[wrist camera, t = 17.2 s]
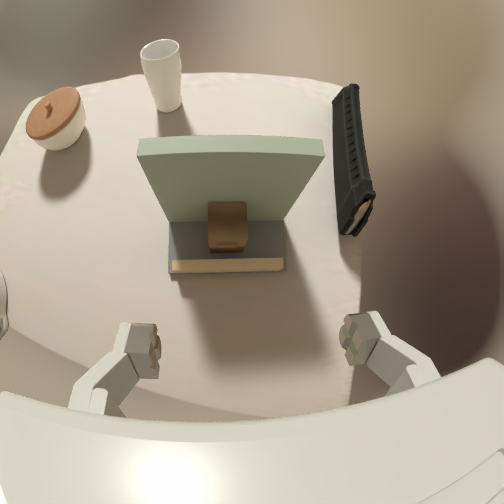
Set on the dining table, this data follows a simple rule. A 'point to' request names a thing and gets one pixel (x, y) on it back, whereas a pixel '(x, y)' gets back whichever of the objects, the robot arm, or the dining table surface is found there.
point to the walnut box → (227, 227)
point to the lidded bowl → (57, 119)
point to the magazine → (350, 163)
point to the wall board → (228, 193)
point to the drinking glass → (163, 73)
